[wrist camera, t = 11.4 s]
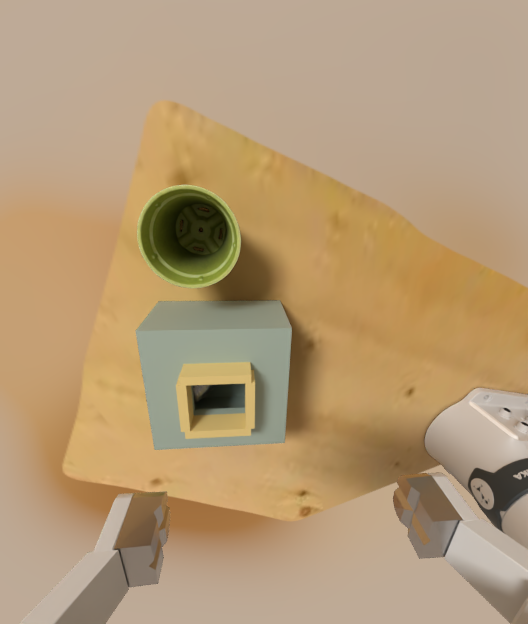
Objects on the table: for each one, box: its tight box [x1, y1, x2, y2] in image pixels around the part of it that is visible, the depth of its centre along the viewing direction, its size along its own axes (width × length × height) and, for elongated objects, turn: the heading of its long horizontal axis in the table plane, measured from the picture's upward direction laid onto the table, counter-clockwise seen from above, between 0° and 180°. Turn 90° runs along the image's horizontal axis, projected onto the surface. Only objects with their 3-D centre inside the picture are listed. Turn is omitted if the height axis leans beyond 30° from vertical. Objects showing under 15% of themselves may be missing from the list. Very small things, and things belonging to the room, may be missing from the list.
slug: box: [193, 384, 218, 405], centre depth 36 cm, size 4×4×6 cm
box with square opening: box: [136, 300, 292, 450], centre depth 35 cm, size 16×16×12 cm
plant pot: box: [137, 185, 241, 288], centre depth 30 cm, size 9×9×9 cm
